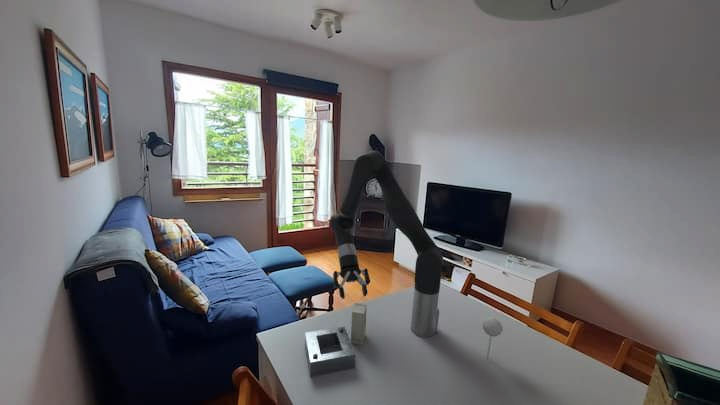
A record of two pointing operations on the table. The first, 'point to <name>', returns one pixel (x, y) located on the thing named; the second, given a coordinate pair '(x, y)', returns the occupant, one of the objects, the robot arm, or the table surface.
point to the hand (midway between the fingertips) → (354, 297)
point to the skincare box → (358, 323)
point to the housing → (329, 361)
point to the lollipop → (492, 328)
